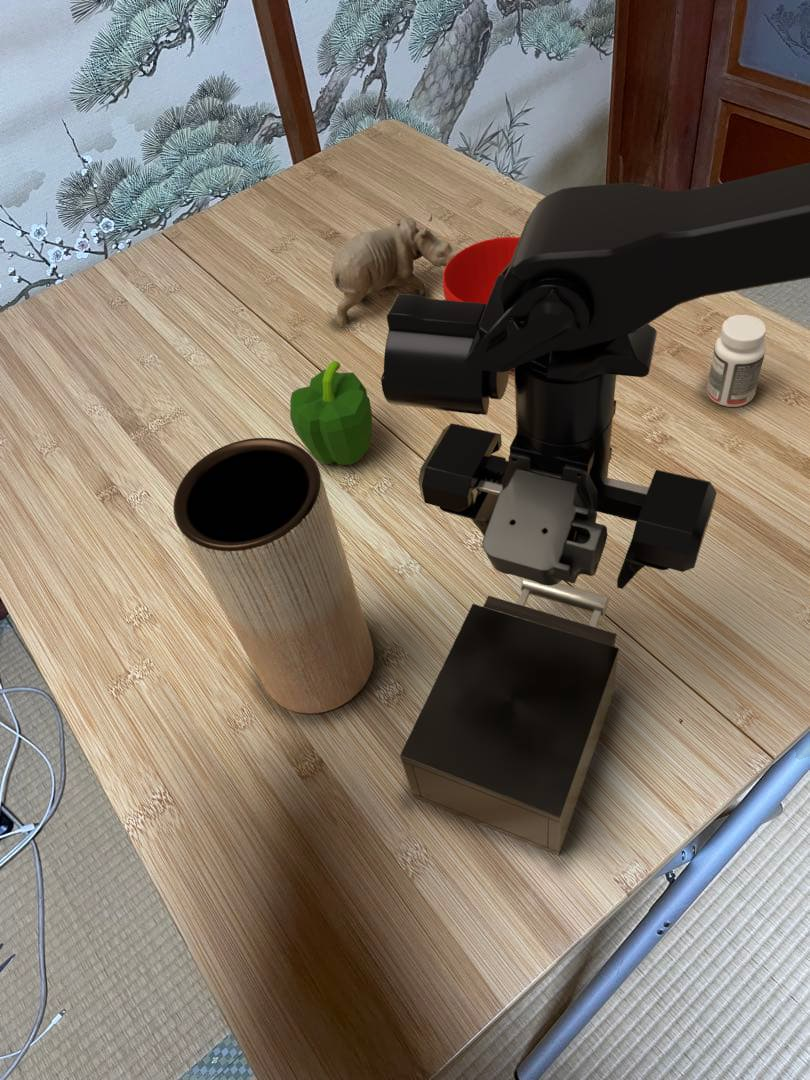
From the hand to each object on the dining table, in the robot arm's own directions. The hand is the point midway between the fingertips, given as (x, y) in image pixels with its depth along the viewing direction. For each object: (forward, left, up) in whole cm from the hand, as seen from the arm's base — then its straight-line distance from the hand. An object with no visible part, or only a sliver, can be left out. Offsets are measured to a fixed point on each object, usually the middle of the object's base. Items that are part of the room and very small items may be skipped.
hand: (560, 566), depth 62 cm
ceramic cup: (+17, -37, -12) cm, 42 cm away
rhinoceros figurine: (+35, -41, -12) cm, 55 cm away
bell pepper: (+29, -15, -12) cm, 35 cm away
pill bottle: (-7, -35, -12) cm, 37 cm away
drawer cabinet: (0, +10, -11) cm, 15 cm away
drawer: (0, +5, -11) cm, 12 cm away
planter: (+19, +9, -12) cm, 24 cm away
